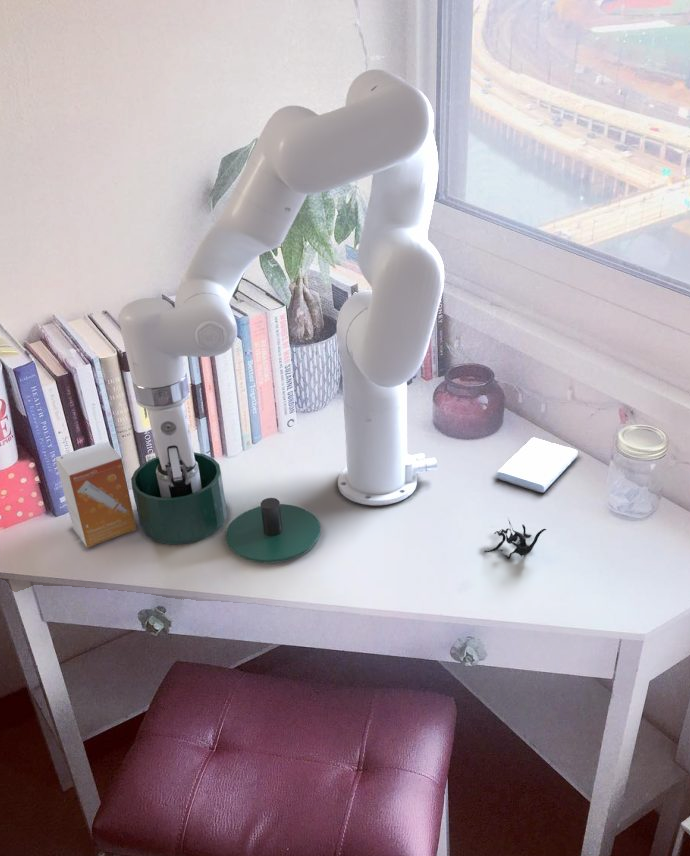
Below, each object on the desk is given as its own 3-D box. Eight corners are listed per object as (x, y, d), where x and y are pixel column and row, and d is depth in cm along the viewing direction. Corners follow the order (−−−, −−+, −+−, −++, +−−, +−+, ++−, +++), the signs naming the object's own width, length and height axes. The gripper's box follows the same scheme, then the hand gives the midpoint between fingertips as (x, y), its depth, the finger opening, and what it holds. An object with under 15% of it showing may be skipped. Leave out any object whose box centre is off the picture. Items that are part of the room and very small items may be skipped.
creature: (474, 552, 131) (507, 571, 125) (471, 518, 129) (504, 536, 122) (519, 535, 134) (553, 553, 127) (516, 502, 132) (551, 519, 125)
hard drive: (496, 479, 145) (531, 444, 153) (543, 494, 141) (577, 457, 149) (496, 470, 144) (532, 436, 152) (544, 485, 140) (578, 449, 148)
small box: (87, 549, 134) (67, 475, 127) (72, 529, 139) (53, 456, 131) (138, 530, 138) (122, 457, 130) (122, 510, 142) (106, 439, 135)
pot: (221, 488, 146) (215, 446, 141) (231, 535, 135) (225, 491, 131) (139, 502, 144) (129, 459, 139) (142, 550, 133) (133, 506, 129)
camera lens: (167, 521, 135) (158, 477, 131) (160, 500, 140) (151, 456, 136) (208, 512, 137) (200, 468, 132) (200, 490, 142) (192, 447, 137)
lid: (310, 503, 142) (308, 470, 138) (329, 556, 130) (327, 521, 127) (221, 518, 139) (216, 485, 136) (233, 573, 128) (228, 539, 125)
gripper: (193, 412, 120) (212, 521, 131) (183, 358, 134) (201, 460, 145) (136, 421, 119) (160, 530, 130) (132, 365, 133) (154, 468, 144)
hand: (181, 492), depth 137 cm, fingers closed on camera lens, 6 cm apart
